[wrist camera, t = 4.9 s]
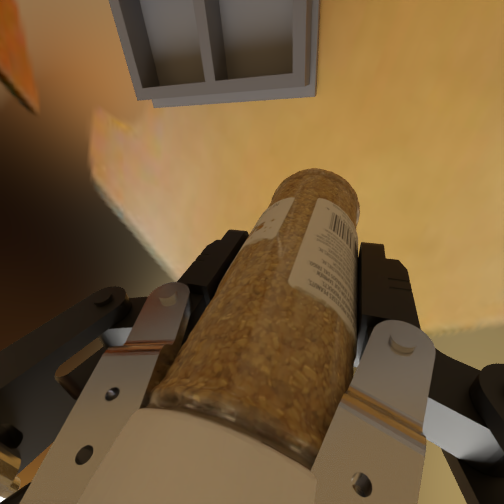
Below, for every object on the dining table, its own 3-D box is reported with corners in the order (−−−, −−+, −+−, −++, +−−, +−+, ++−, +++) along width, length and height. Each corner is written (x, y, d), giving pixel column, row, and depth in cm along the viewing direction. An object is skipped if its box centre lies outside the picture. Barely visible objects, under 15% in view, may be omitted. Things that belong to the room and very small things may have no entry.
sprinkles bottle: (265, 173, 14) (-38, 523, 3) (360, 159, 12) (351, 847, 1) (281, 247, 16) (133, 590, 6) (362, 244, 14) (367, 747, 4)
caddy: (324, -81, 19) (317, -109, 16) (316, 95, 25) (310, 99, 22) (125, -27, 24) (92, -40, 21) (159, 106, 31) (136, 111, 28)
